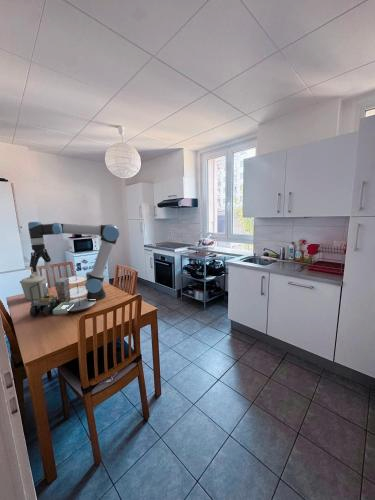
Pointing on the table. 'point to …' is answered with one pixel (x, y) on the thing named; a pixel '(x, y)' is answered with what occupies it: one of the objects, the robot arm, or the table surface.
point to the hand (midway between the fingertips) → (42, 273)
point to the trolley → (42, 303)
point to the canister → (31, 281)
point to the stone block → (63, 290)
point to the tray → (62, 311)
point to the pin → (45, 290)
